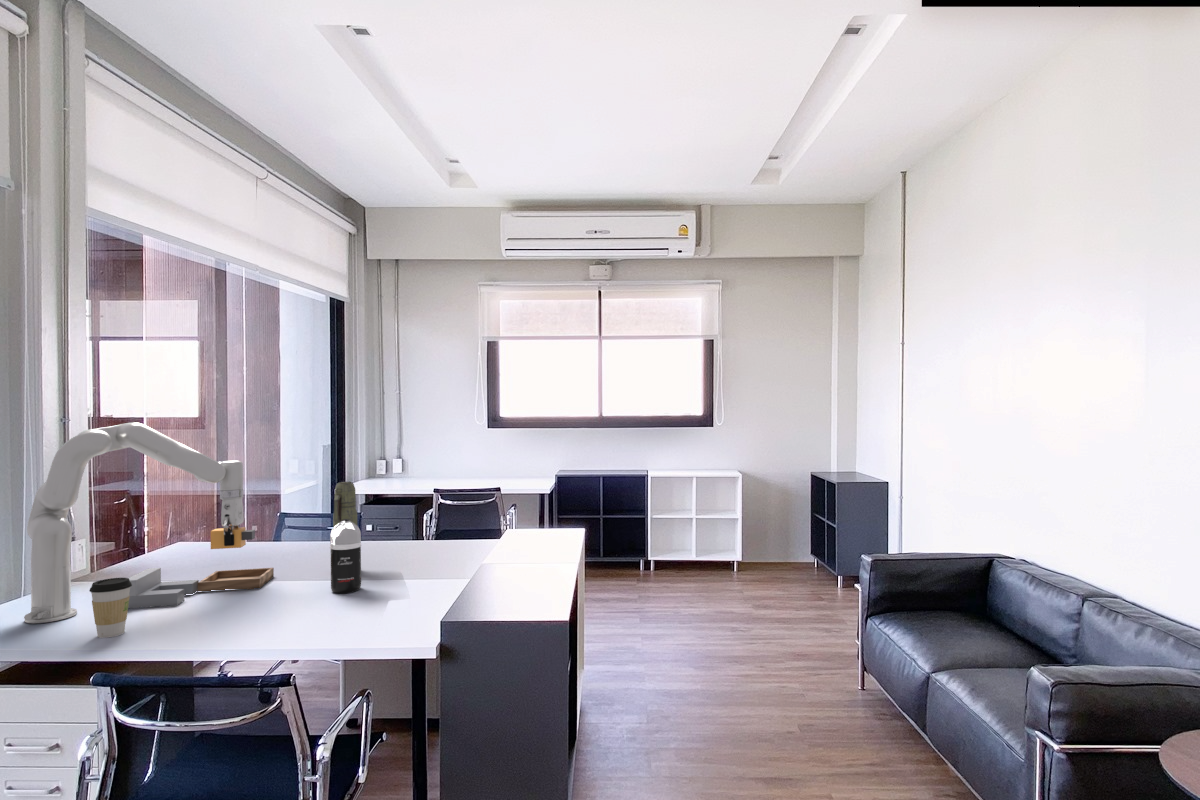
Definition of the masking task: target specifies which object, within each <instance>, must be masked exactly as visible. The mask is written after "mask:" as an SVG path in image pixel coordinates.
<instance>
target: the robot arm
mask: <svg viewBox="0 0 1200 800" xmlns="http://www.w3.org/2000/svg"><path fill="white" fill-rule="evenodd" d="M128 448H130V449H133V450H135V451H137V452H139V453H141V454H143V455H145V456H147V457H149V458H151V459H153V460H155V461H156V462H159V463H161V464H163V465H165V466H169V467H172V468H177V469H179V470H182V471H185V472H187V473H189V474H191V475H193V476H194V478H195V479H196V480H197V481H200V482H203V483H209V484H217V483H219V499H220V500H222V501H221V513H220V515H221V517H220V519H221V526H222V528H223V529H224V546H233V545H234V534H233V529H234V528H240V526H241V525H242V524H243V523H244V521H245V520H244V519H245V518H244V517H245V516H244V504H243V503H244V502H243V498H244V465H243V462H242V461H241V460H238V459H237V460H224V461H217V460H216V459H213V458H211V457H210V456H207V455H206V454H204V453H201V452H199V451H197V450H195V449H193V448H191V447H189V446H187V445H185V444H183V443H181V442H178V441H177V440H176V439H173V438H172V437H169V436H168V435H165V434H163V433H162V432H159V431H157V430H156V429H154V428H152V427H150V426H148V425H146V424H144V423H140V422H126V423H120V424H117V425H112V426H105V427H98V428H91V429H86V430H83V431H81V432H79V433H78V434H77V435H75V436H73V437H71V438H70V439H68V440H67V441H66V442H64V443H63V444H62V445H61V446H60V447H59V449H57V451H56V452H55V455H54V457H53V459H52V463H51V465H50V469H49V471H48V474H47V477H46V481H45V482H43V483H42V484H41V485H40V486H39V487H38V489H37V491H36V493H35V495H34V499H33V502H32V505H31V510H30V513H29V517H28V521H27V526H26V532H27V535H28V536H29V538H30V539H31V553H30V573H31V575H30V576H31V577H30V582H31V583H30V590H31V591H30V593H31V594H30V598H31V600H30V612H28V613H26V614H25V615H24V616H23V617H24V618H23V619H24V622H25V623H27V624H45V623H52V622H57V621H62V620H65V619H69V618H71V617H74V616H76V615H77V614H78V610H77V608H73V607H72V605H71V604H72V603H71V602H72V601H71V600H72V599H71V597H72V596H71V595H72V592H71V591H72V590H71V589H72V586H71V585H72V576H71V575H72V573H71V572H72V571H71V567H72V566H71V554H72V552H71V551H72V540H73V529H72V525H71V523H70V522H69V520H68V514H69V510H70V509H71V508H72V507H73V506H74V505H75V504H76V502H77V500H78V498H79V493H80V487H81V483H82V480H83V475H84V473H85V469H86V466H87V465H88V463H89V462H90V461H91V460H92V459H93V458H95V457H97V456H102V455H105V453H108V452H109V453H110V452H113V451H119V450H124V449H128ZM230 528H231V530H230Z"/></svg>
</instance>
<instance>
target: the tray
mask: <svg viewBox="0 0 1200 800" xmlns="http://www.w3.org/2000/svg"><path fill="white" fill-rule="evenodd" d="M274 571H275V570H274V567H263V568H243V569H227V570H226V569H225V570H216V571H214V572H213V573H211V574H209V575H208V576H206V577H205V578H203V579H202V580H200V581H199V582H198V591H211V590H225V589H247V590H255V589H254V588H260V589H261V588H262V587H264V586H265V585H266V584H267V583H269V581H271V580H272V579H273V578H274V577H275V576H274V575H275V574H274ZM264 584H265V585H264Z"/></svg>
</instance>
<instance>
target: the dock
mask: <svg viewBox="0 0 1200 800" xmlns="http://www.w3.org/2000/svg"><path fill="white" fill-rule="evenodd" d="M161 574H162V568H161V567H154V568H153V567H151V568H146V569H144V570H142V571H140V572H138V573H136V574H134V575H131V576H130V577H128V578H129V580H130V582H131V583H132V586H131V587H130V592H129V595H130V597H129V605H128V608H130V609H140V608H139V607H145V608H151V607H150V606H160V607H167V606H166V605H175V606H179V605H180V604H181V603H180V602H182V601H183V600H184V601H185V596H184V595H186V594H193V593H195V592H196V591H198V582H200V581H199V579H194V580H193V579H192V580H191V579H190V580H177V581H175V580H174V581H162V575H161ZM195 594H196V593H195ZM184 601H183V602H184ZM183 602H182V603H183ZM179 603H180V604H179ZM178 604H179V605H178Z"/></svg>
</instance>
